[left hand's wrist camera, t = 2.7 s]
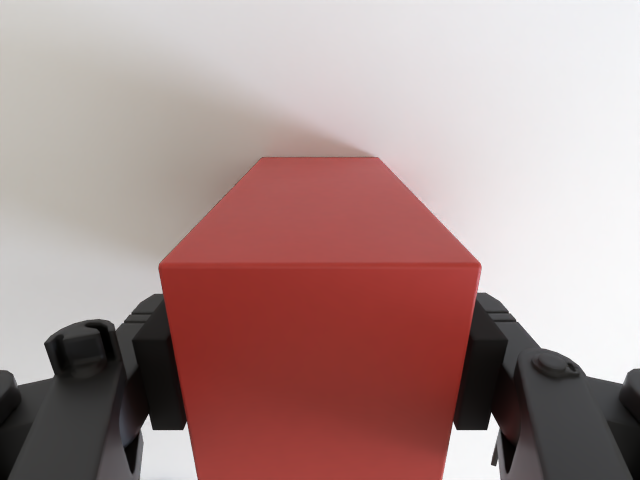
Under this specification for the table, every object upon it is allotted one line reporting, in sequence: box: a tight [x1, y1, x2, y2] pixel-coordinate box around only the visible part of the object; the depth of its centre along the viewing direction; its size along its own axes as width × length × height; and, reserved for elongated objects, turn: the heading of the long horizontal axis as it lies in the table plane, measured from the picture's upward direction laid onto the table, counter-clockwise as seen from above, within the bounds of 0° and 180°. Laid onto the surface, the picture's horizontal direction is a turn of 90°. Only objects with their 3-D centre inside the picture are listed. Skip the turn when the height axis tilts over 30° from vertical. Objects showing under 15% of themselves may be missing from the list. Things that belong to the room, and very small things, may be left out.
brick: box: [159, 157, 481, 480], centre depth 13 cm, size 8×6×11 cm
